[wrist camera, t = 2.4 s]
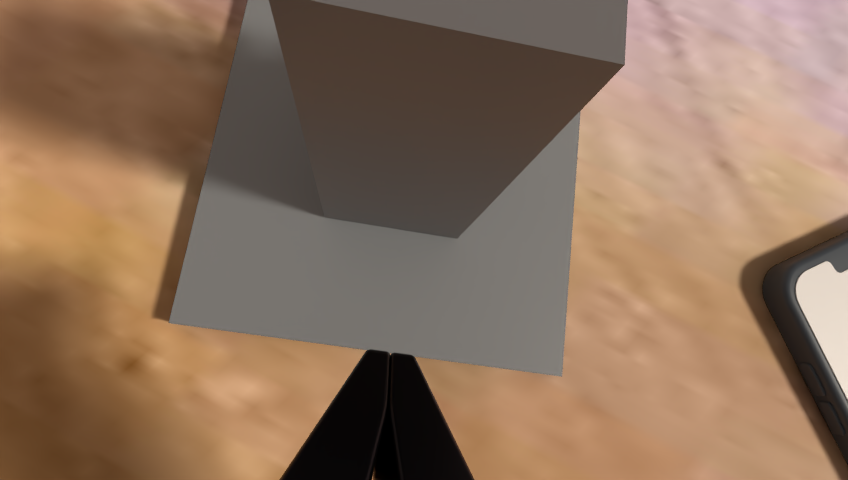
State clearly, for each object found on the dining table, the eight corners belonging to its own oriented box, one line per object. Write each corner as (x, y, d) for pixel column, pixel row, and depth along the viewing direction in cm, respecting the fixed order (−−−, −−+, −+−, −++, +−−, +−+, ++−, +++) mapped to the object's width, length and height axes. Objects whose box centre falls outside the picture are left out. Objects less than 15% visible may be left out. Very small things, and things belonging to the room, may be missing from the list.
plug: (457, 238, 19) (624, 64, 7) (324, 217, 18) (266, -9, 7) (475, 95, 20) (639, -252, 8) (351, 71, 19) (343, -334, 8)
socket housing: (553, 375, 19) (714, 401, 10) (176, 323, 18) (6, 305, 9) (583, -42, 23) (716, -267, 15) (281, -110, 22) (233, -402, 13)
